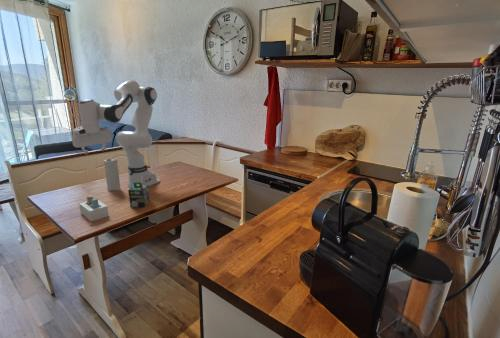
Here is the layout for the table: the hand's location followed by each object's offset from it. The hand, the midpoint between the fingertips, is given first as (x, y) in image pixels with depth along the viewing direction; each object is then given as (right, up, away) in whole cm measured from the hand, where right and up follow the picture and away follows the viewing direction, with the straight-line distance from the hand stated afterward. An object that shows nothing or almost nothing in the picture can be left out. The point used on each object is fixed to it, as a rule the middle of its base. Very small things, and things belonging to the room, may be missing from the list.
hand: (95, 152), depth 155 cm
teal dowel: (+6, -36, -8) cm, 38 cm away
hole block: (+3, -36, -6) cm, 36 cm away
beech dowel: (+1, -35, -4) cm, 35 cm away
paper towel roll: (-4, -24, +29) cm, 38 cm away
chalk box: (+23, -32, +8) cm, 40 cm away
